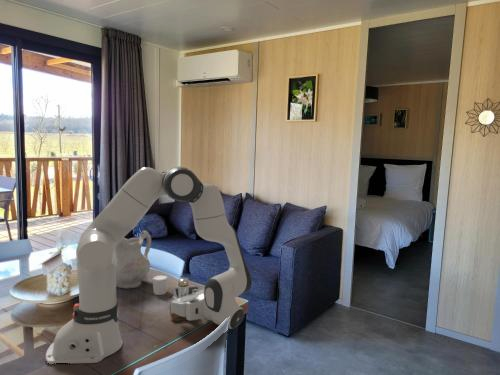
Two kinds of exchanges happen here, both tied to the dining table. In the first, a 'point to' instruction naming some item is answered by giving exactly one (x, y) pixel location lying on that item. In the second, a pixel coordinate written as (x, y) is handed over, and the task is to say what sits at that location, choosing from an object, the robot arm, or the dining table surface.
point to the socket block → (175, 315)
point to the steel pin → (183, 287)
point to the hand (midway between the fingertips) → (183, 294)
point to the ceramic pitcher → (132, 261)
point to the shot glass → (160, 284)
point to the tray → (175, 290)
